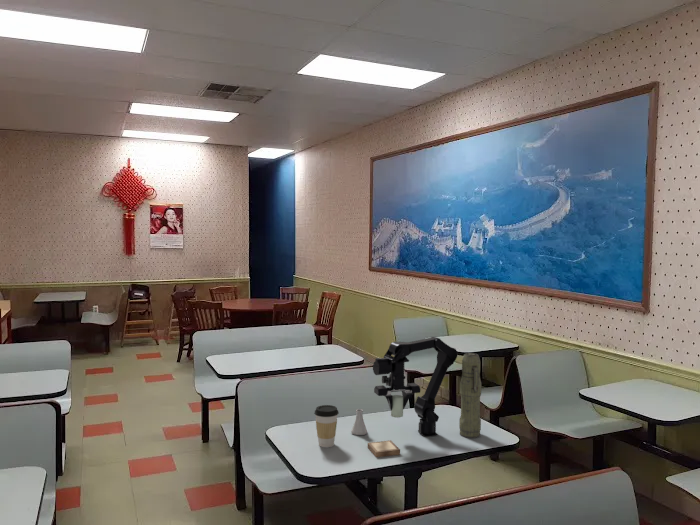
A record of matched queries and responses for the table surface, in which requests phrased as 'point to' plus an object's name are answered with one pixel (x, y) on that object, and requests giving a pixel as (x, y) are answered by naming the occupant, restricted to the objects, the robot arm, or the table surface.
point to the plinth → (383, 448)
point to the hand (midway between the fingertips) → (397, 409)
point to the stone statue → (470, 396)
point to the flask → (359, 424)
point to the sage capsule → (397, 406)
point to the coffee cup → (326, 424)
